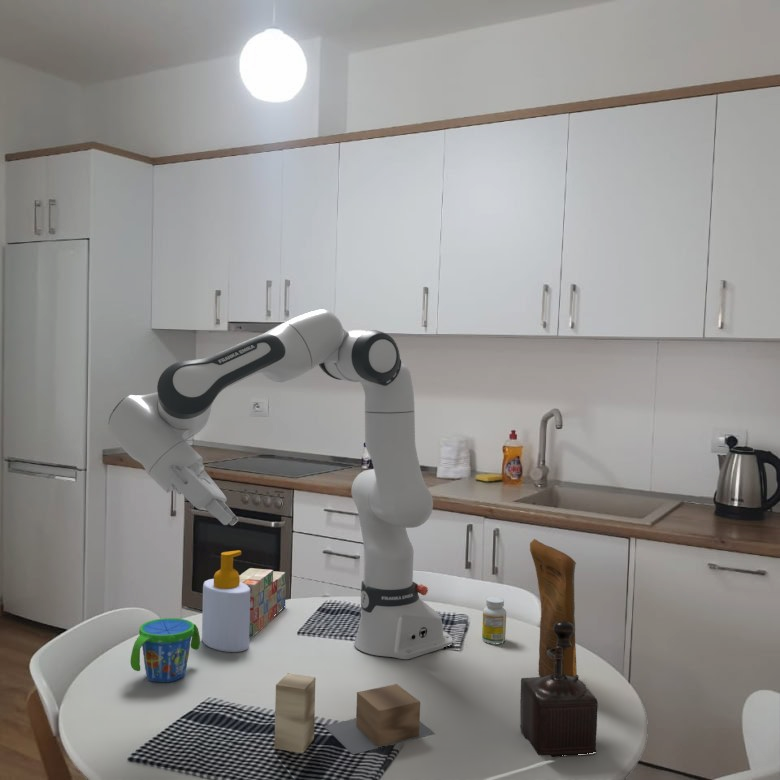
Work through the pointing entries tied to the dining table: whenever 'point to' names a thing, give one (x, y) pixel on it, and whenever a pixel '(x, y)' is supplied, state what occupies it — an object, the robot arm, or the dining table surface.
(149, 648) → the snack cup
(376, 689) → the walnut block
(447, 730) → the dining table surface
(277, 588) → the stack of blocks
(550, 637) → the pancake mix bag
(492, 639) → the supplement bottle
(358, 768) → the dining table surface
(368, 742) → the mat
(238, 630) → the soap bottle
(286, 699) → the oak column
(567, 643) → the manual coffee grinder
